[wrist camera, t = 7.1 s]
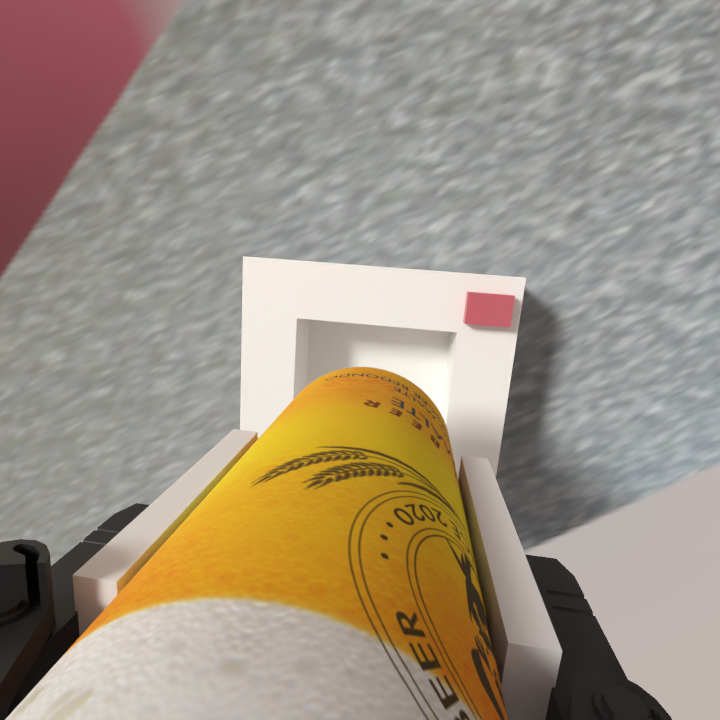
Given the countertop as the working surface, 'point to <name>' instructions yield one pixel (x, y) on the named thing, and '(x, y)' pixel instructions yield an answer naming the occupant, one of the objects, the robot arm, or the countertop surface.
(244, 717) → the beer can
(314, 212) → the countertop surface
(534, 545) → the countertop surface
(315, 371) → the socket block
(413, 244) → the countertop surface
